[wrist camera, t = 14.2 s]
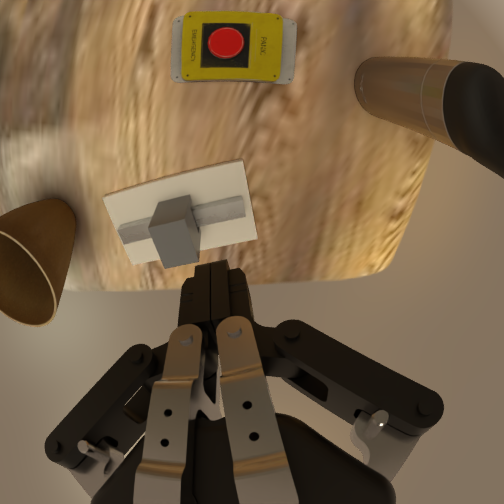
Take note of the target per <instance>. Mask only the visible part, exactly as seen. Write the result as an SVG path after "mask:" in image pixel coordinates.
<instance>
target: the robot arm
mask: <svg viewBox="0 0 504 504" xmlns="http://www.w3.org/2000/svg"><path fill="white" fill-rule="evenodd" d="M355 92H356V95H357V98H358V100H359V102H360V104H361V105H362V107H363V108H364V109H365V110H366V111H367V112H369V113H370V114H371V115H374V116H376V117H378V118H381V119H384V120H387V121H390V122H392V123H395V124H398V125H401V126H403V127H406V128H409V129H411V130H414V131H416V132H419V133H421V134H423V135H426V136H428V137H430V138H433V139H435V140H437V141H439V142H442V143H444V144H446V145H448V146H450V147H453V148H455V149H457V150H459V151H461V152H462V153H464V154H466V155H468V156H470V157H472V158H473V159H474V160H476V161H477V162H479V163H480V164H482V165H483V166H485V167H486V168H488V169H490V170H491V171H493V172H495V173H496V174H498V175H499V176H501V177H502V178H504V78H503V77H502V75H501V74H500V73H498V72H497V71H496V70H495V69H493V68H491V67H489V66H487V65H484V64H479V63H473V62H465V61H457V60H448V59H435V58H419V57H375V58H371V59H368V60H366V61H365V62H364V63H362V64H361V66H360V67H359V68H358V71H357V73H356V76H355ZM218 355H219V358H220V365H221V372H222V376H220V367H219V365H218ZM266 376H274V377H281V378H282V379H283V380H284V381H285V382H287V383H288V384H289V385H291V386H292V387H294V388H295V389H297V390H298V391H300V392H301V393H303V394H304V395H306V396H307V397H309V398H310V399H312V400H313V401H315V402H317V403H318V404H319V405H321V406H322V407H324V408H326V409H327V410H329V411H330V412H332V413H334V414H335V415H337V416H338V417H340V418H342V419H343V420H345V421H346V422H348V423H350V424H351V425H353V427H352V429H351V432H350V437H351V441H352V443H353V444H354V445H355V446H356V447H357V448H358V449H359V450H360V451H361V453H362V454H363V458H364V462H363V463H362V462H360V461H359V460H357V459H356V458H354V457H353V456H351V455H350V454H348V453H347V452H345V451H344V450H342V449H341V448H339V447H338V446H336V445H334V444H333V443H332V442H330V441H329V440H327V439H326V438H325V437H323V436H322V435H320V434H319V433H318V432H316V431H315V430H314V429H312V428H311V427H309V426H308V425H307V424H305V423H304V422H302V421H301V420H299V419H297V418H295V417H292V416H289V415H286V414H281V413H276V412H275V409H274V405H273V402H272V398H271V394H270V391H269V387H268V383H267V380H266ZM141 386H142V387H141ZM140 387H141V388H140ZM220 387H221V394H222V400H223V407H224V412H225V417H223V418H222V416H221V412H220V407H219V397H220ZM139 388H140V390H138V389H139ZM137 390H138V392H137V393H136V394H135V392H136V391H137ZM134 394H135V395H134ZM133 395H134V396H133ZM132 396H133V397H132ZM131 397H132V398H131ZM130 398H131V399H130ZM129 399H130V401H129V402H128V403H127V401H128V400H129ZM126 403H127V404H126ZM125 404H126V405H125ZM124 405H125V406H124ZM443 411H444V404H443V401H442V398H441V397H440V396H439V394H437V393H436V392H435V391H433V390H430V389H428V388H427V387H425V386H423V385H420V384H418V383H417V382H415V381H413V380H411V379H409V378H407V377H405V376H403V375H401V374H399V373H397V372H395V371H393V370H391V369H389V368H387V367H385V366H383V365H381V364H380V363H378V362H375V361H374V360H372V359H370V358H368V357H366V356H364V355H362V354H361V353H359V352H357V351H355V350H353V349H351V348H349V347H348V346H346V345H344V344H342V343H340V342H339V341H337V340H335V339H333V338H331V337H329V336H328V335H326V334H324V333H322V332H320V331H318V330H317V329H315V328H313V327H311V326H310V325H308V324H306V323H304V322H302V321H300V320H287V321H284V322H282V323H280V324H279V325H278V326H277V327H276V328H272V327H264V326H261V325H259V324H257V323H256V322H255V321H254V315H253V309H252V303H251V297H250V293H249V288H248V284H247V280H246V276H245V274H244V272H243V271H242V270H241V269H240V268H236V269H231V270H230V268H229V265H228V261H227V259H226V260H221V261H216V262H211V263H207V264H202V265H197V266H195V273H194V277H191V278H187V279H186V281H185V282H184V284H183V285H182V289H181V298H180V308H179V317H178V328H176V329H175V330H174V331H173V332H172V333H171V335H170V338H169V341H168V342H167V343H165V344H163V345H161V346H159V347H156V348H154V349H151V348H150V347H149V346H147V345H145V344H137V345H134V346H132V347H130V348H129V349H128V350H127V351H126V352H125V353H124V354H123V355H122V356H121V358H119V360H118V361H117V362H116V363H115V364H114V365H113V366H112V367H111V368H110V369H109V370H108V371H107V372H106V373H105V374H104V376H103V377H102V378H101V379H100V380H99V381H98V382H97V383H96V384H95V385H94V386H93V387H92V388H91V389H90V391H89V392H88V393H87V394H86V395H85V396H84V397H83V398H82V399H81V400H80V401H79V403H78V404H77V405H76V406H75V407H74V408H73V409H72V410H71V411H70V412H69V414H68V415H67V416H66V417H65V418H64V419H63V420H62V421H61V422H60V424H59V425H58V426H57V427H56V428H55V429H54V430H53V431H52V432H51V434H50V435H49V436H48V437H47V439H46V441H45V453H46V455H47V457H48V458H49V459H50V460H51V461H53V462H55V463H57V464H59V465H61V466H63V467H65V468H67V469H68V470H69V471H70V472H71V473H72V475H73V476H74V477H75V479H76V480H77V481H78V482H79V484H80V485H81V486H82V487H83V489H84V490H85V491H86V492H87V493H88V495H89V496H90V497H91V498H92V500H91V504H396V495H395V491H394V488H393V486H392V484H391V483H390V482H391V481H392V480H393V478H394V477H395V475H396V474H397V473H398V471H399V470H400V468H401V467H402V465H403V464H404V462H405V461H406V459H407V458H408V456H409V455H410V453H411V452H412V450H413V448H414V447H415V445H416V443H417V442H418V440H419V438H420V437H421V436H422V435H423V434H424V433H425V432H427V431H428V430H429V429H430V428H432V427H433V426H434V425H435V424H436V423H437V422H438V421H439V420H440V419H441V417H442V415H443ZM145 431H146V432H145ZM144 432H145V435H144V436H143V437H142V438H141V439H140V441H139V442H138V443H137V444H136V445H135V447H134V448H133V449H132V450H131V452H130V453H129V454H128V455H127V457H126V458H125V459H124V455H125V454H126V453H127V452H128V451H129V449H130V448H131V447H132V446H133V445H134V444H135V443H136V441H137V440H138V439H139V438H140V437H141V435H142V434H143V433H144Z"/></svg>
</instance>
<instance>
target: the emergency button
mask: <svg viewBox="0 0 504 504" xmlns="http://www.w3.org/2000/svg"><path fill="white" fill-rule="evenodd" d="M296 38H297V24H296V23H295V22H294V21H293V20H290V19H285V18H282V17H281V16H280V15H278V14H272V13H261V12H246V11H195V12H188V13H187V14H185V15H184V16H180V17H177V18H176V19H174V21H173V28H172V48H171V79H172V80H173V81H174V82H178V83H183V82H207V81H238V82H261V83H275V84H289V83H291V82H292V81H293V79H294V68H295V53H296Z"/></svg>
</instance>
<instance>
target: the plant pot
mask: <svg viewBox="0 0 504 504" xmlns="http://www.w3.org/2000/svg"><path fill="white" fill-rule="evenodd" d="M75 230H76V219H75V216H74V213H73V211H72V210H71V208H70V207H69V206H68V205H67V204H66V203H65V202H63V201H61V200H59V199H47V200H41V201H37V202H33V203H30V204H27V205H24V206H21V207H19V208H16V209H14V210H12V211H10V212H8V213H6V214H4V215H2V216H0V312H1V313H3V314H4V315H5V316H7V317H8V318H10V319H12V320H13V321H16V322H18V323H20V324H23V325H26V326H30V327H41V326H45V325H47V324H49V323H50V322H51V321H52V320H53V319H54V317H55V314H56V311H57V308H58V305H59V301H60V297H61V294H62V291H63V287H64V284H65V280H66V276H67V272H68V268H69V264H70V260H71V255H72V250H73V244H74V238H75Z"/></svg>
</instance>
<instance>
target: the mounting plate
mask: <svg viewBox="0 0 504 504" xmlns="http://www.w3.org/2000/svg"><path fill="white" fill-rule="evenodd" d="M189 194H190V196H191V200H192V203H191V207H192V206H196V205H200V204H205V203H209V202H214V201H218V200H223V199H227V198H232V197H237V196H242V199H243V204H244V208H245V213H246V217H243V218H238V219H233V220H228V221H224V222H219V223H214V224H210V225H205V226H201V227H200V230H201V241H200V251H201V250H206V249H211V248H216V247H220V246H225V245H230V244H235V243H240V242H244V241H249V240H254V239H258V238H257V232H256V227H255V222H254V217H253V211H252V206H251V201H250V196H249V190H248V185H247V180H246V175H245V170H244V164H243V160H242V159H238V160H233V161H228V162H224V163H219V164H215V165H210V166H206V167H202V168H197V169H193V170H189V171H185V172H181V173H177V174H174V175H170V176H166V177H162V178H159V179H155V180H152V181H148V182H145V183H142V184H138V185H135V186H132V187H128V188H125V189H122V190H119V191H116V192H113V193H110V194H107V195H104V197H103V198H102V199H103V201H104V204H105V206H106V208H107V211H108V213H109V216H110V218H111V220H112V222H113V225H114V227H115V229H116V231H117V229H118V228H119V226H120V225H122V224H125V223H129V222H133V221H136V220H140V219H144V218H147V217H151V216H153V214H154V211H155V209H156V207H157V204H158V202H161V201H165V200H169V199H173V198H177V197H181V196H185V195H189ZM117 234H118V236H119V233H118V231H117ZM119 238H120V236H119ZM120 240H121V238H120ZM121 242H122V240H121ZM122 244H123V242H122ZM123 247H124V249H125V251H126V253H127V255H128V257H129V259H130V261H131V263H132V265H136V264H141V263H145V262H150V261H155V260H159V259H160V257H159V254H158V252H157V250H156V247H155V245H154V242H153V240H152V238H149V239H145V240H141V241H137V242H133V243H129V244H125V245H124V244H123Z"/></svg>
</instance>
